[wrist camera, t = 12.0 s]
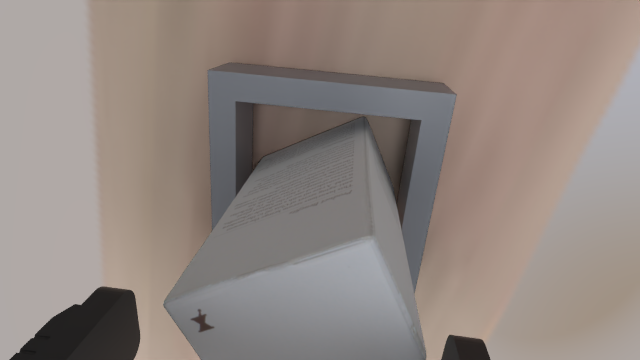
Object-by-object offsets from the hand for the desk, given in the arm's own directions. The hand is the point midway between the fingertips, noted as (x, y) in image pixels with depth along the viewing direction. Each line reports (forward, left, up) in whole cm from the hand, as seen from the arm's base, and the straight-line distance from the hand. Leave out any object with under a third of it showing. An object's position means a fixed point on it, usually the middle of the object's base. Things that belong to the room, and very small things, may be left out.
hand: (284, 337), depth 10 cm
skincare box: (0, 0, -12) cm, 12 cm away
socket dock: (0, 0, -12) cm, 12 cm away
